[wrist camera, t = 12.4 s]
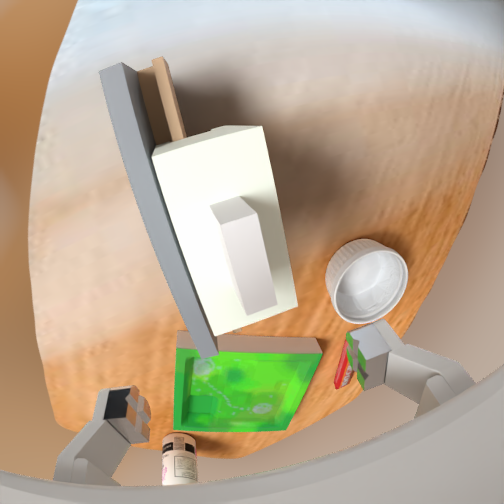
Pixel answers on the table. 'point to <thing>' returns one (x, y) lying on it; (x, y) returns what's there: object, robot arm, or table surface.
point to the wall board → (155, 176)
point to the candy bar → (343, 370)
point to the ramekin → (365, 280)
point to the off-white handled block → (228, 224)
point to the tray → (242, 382)
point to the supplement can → (179, 459)
